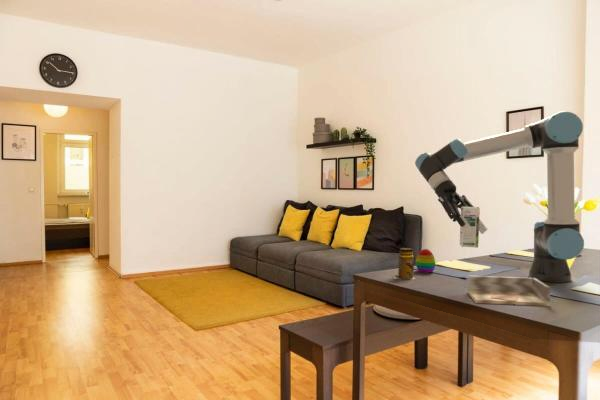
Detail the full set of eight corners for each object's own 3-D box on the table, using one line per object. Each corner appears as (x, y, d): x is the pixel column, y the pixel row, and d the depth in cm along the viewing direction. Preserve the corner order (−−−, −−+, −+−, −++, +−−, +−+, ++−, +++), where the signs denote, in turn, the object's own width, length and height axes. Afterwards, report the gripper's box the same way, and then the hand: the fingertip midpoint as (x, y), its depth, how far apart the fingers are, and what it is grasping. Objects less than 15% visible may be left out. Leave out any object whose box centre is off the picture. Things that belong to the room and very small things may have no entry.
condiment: (415, 279, 179) (416, 249, 179) (394, 279, 180) (394, 249, 179) (412, 275, 186) (412, 247, 186) (392, 275, 187) (392, 247, 187)
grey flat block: (534, 295, 154) (535, 277, 153) (549, 306, 140) (550, 287, 140) (467, 292, 158) (467, 275, 157) (475, 302, 144) (476, 284, 144)
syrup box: (461, 247, 161) (463, 206, 160) (459, 244, 166) (460, 205, 166) (478, 247, 159) (480, 207, 159) (475, 245, 165) (477, 206, 164)
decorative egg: (428, 269, 200) (428, 247, 200) (439, 272, 192) (439, 249, 192) (412, 270, 198) (412, 248, 197) (422, 274, 190) (423, 250, 189)
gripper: (453, 192, 180) (487, 237, 168) (418, 192, 169) (452, 240, 156) (465, 179, 176) (501, 224, 163) (430, 178, 164) (466, 226, 152)
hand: (477, 232), depth 160 cm, fingers closed on syrup box, 8 cm apart
